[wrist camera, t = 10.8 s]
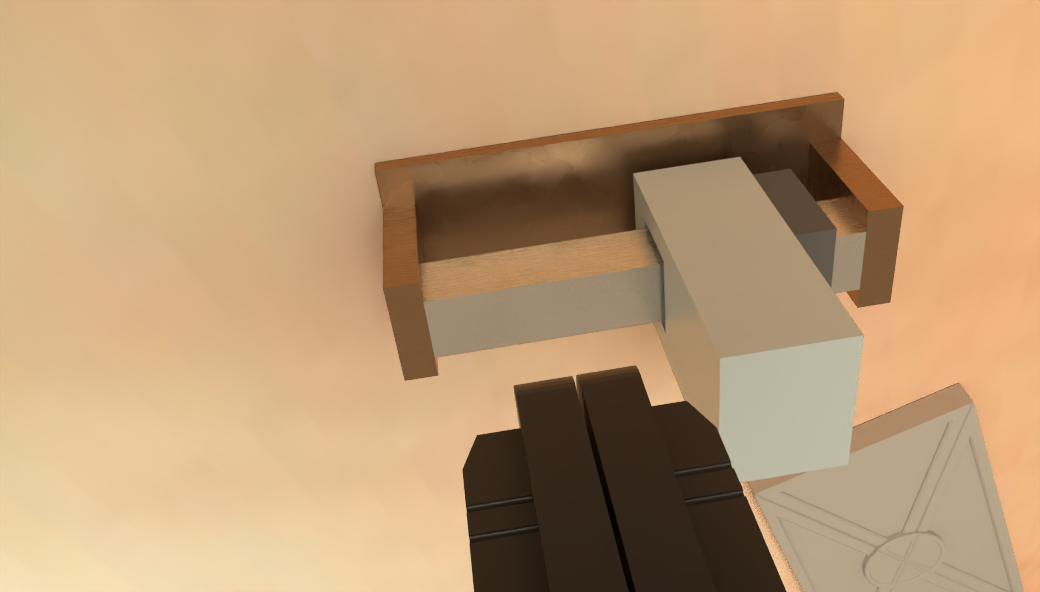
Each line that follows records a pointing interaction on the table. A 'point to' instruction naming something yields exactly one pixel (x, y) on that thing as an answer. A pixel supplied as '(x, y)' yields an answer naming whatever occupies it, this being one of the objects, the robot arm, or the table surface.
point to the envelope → (898, 508)
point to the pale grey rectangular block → (750, 321)
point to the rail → (596, 225)
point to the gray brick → (802, 217)
